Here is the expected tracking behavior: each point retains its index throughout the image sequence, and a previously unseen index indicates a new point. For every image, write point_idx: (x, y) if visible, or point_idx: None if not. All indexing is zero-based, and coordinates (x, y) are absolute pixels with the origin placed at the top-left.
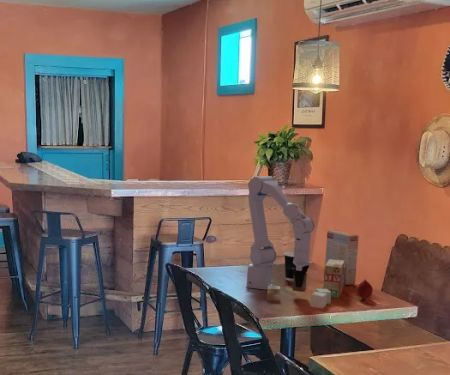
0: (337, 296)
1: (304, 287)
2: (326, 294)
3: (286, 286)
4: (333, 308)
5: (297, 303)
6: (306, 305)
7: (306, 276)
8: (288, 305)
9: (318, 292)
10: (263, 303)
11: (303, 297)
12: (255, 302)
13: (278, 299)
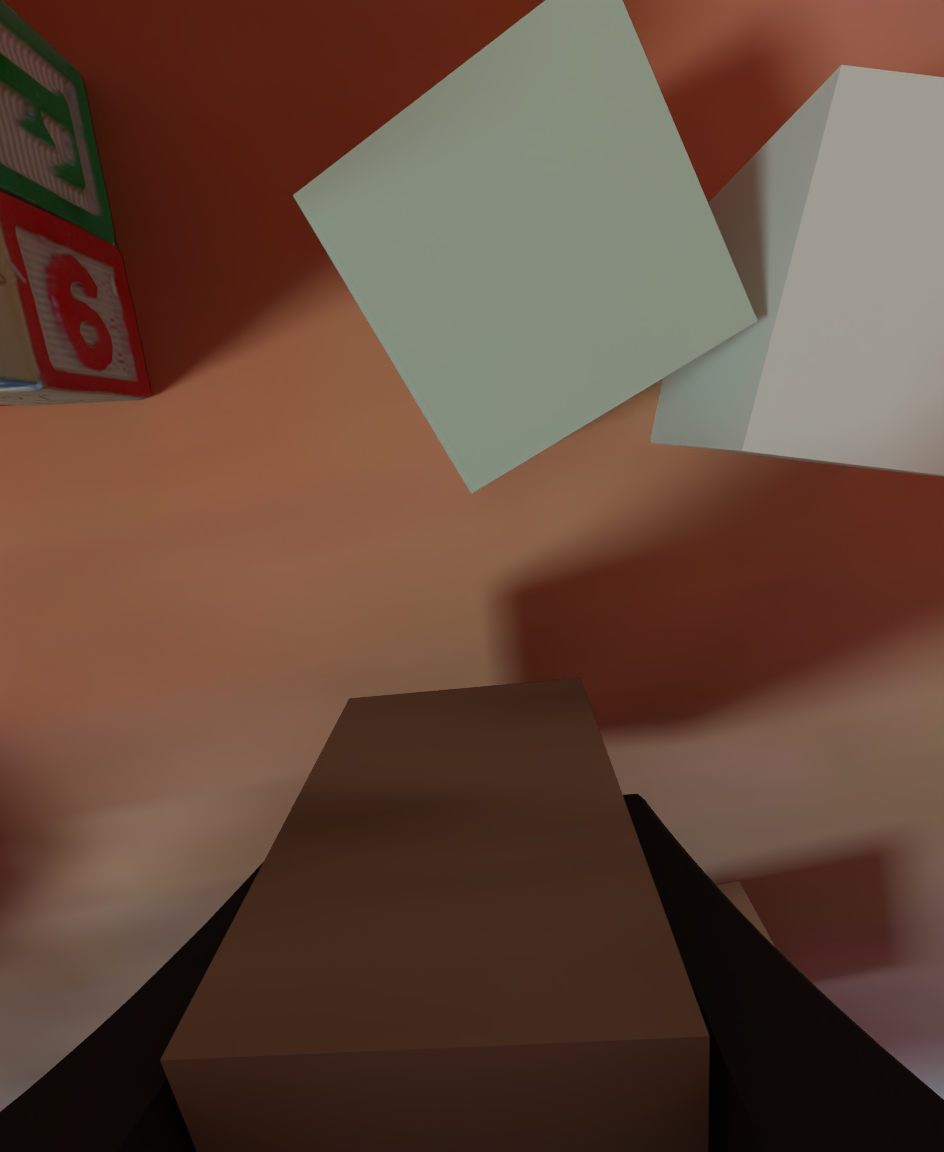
0: (61, 85)
1: (595, 737)
2: (870, 81)
3: (36, 930)
4: (848, 16)
5: (765, 667)
6: (824, 530)
7: (317, 948)
8: (912, 750)
9: (800, 347)
10: (920, 997)
11: (410, 655)
12: (907, 1064)
13: (747, 906)
